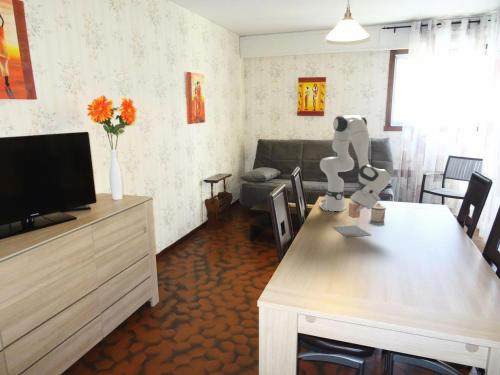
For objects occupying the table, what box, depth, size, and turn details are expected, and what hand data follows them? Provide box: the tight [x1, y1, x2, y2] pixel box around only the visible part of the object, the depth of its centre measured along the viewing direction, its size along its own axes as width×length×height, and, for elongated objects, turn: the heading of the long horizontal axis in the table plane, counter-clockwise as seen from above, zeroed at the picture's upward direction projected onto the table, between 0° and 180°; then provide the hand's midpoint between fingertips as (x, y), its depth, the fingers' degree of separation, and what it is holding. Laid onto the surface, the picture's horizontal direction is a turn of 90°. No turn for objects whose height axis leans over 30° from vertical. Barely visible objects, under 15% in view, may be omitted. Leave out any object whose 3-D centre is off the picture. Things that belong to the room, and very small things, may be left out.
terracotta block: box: [348, 202, 361, 219], centre depth 208 cm, size 5×4×8 cm
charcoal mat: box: [332, 225, 372, 238], centre depth 210 cm, size 18×16×1 cm
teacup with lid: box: [370, 202, 386, 223], centre depth 233 cm, size 12×9×12 cm
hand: (353, 209), depth 208 cm, fingers closed on terracotta block, 5 cm apart
